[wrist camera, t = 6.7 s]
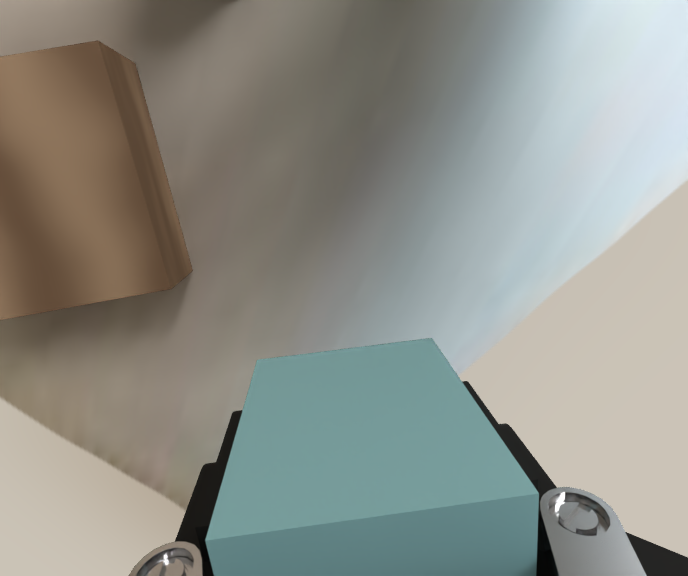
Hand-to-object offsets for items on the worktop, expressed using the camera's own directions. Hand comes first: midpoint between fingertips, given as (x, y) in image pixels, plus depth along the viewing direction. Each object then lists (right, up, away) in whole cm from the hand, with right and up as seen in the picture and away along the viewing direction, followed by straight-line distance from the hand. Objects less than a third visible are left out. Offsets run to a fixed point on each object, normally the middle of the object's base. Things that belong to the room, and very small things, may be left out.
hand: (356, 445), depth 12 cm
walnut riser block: (-18, +11, +16) cm, 26 cm away
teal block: (0, 0, +1) cm, 1 cm away
